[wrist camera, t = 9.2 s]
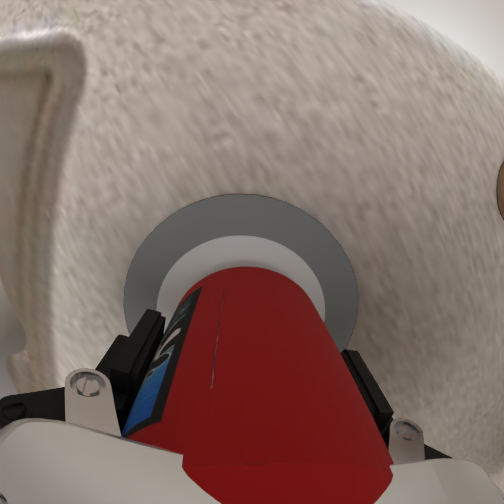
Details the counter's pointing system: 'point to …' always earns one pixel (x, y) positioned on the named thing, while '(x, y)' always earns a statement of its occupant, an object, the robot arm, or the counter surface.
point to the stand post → (501, 190)
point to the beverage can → (259, 398)
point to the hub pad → (242, 257)
